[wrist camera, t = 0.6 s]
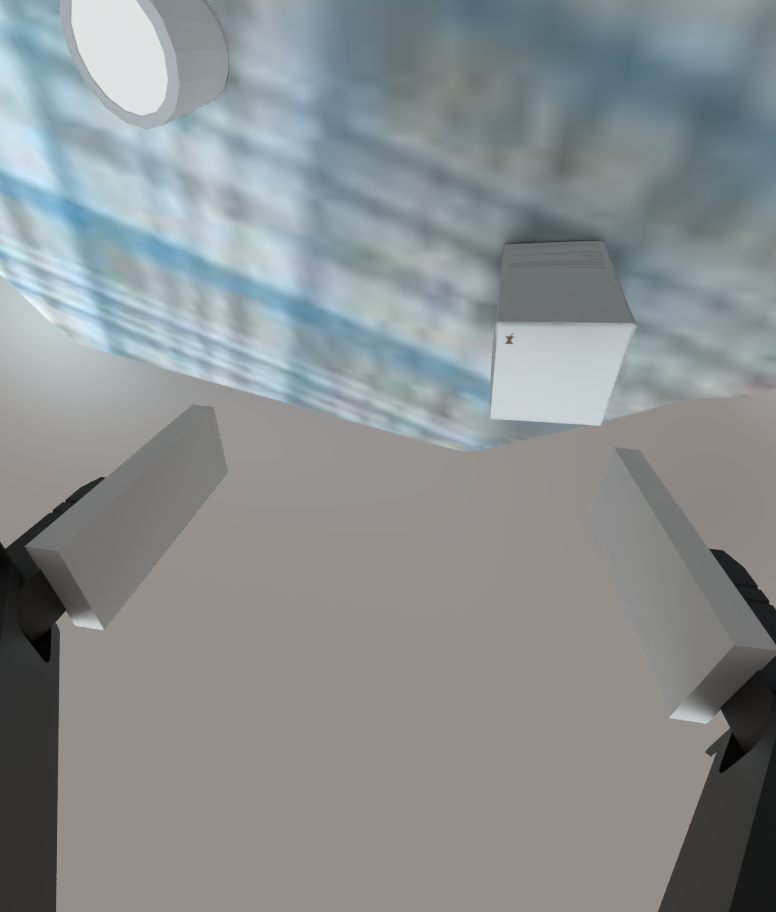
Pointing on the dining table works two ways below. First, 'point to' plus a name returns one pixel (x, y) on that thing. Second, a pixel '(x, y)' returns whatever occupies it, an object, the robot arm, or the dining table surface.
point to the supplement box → (558, 333)
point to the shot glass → (147, 55)
